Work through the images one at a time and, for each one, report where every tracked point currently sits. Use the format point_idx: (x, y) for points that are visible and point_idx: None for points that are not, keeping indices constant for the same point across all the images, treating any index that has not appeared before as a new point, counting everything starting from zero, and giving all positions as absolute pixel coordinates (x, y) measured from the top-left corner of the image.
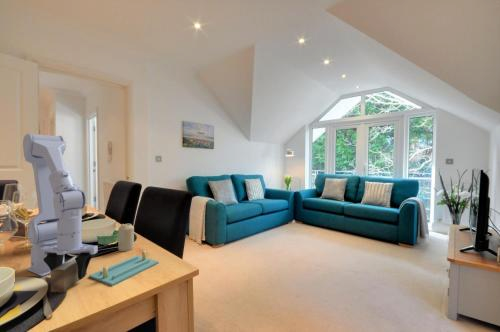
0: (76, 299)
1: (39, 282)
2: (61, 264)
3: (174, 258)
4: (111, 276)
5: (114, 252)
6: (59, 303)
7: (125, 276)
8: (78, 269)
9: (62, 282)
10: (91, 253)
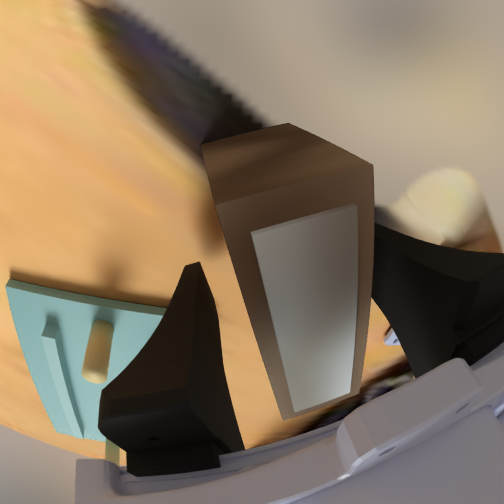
0: (47, 111)
1: (424, 207)
2: (370, 302)
3: (51, 443)
4: (82, 339)
5: (287, 435)
6: (109, 41)
7: (30, 348)
8: (188, 308)
9: (221, 159)
10: (95, 468)
